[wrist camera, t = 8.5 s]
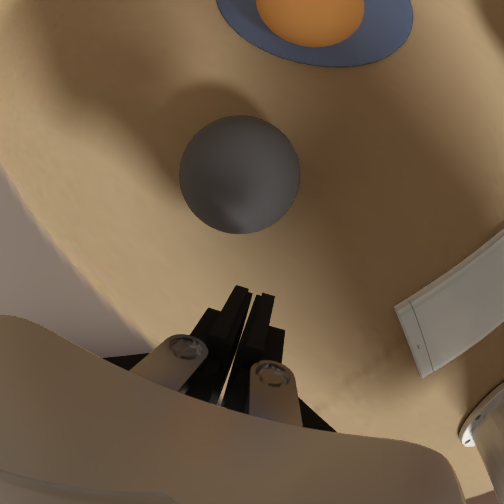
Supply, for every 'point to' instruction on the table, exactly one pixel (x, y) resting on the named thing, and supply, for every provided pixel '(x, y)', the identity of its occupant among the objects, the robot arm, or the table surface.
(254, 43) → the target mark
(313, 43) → the object ball
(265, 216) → the gray ball
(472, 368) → the table surface
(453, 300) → the hard drive
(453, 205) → the table surface
